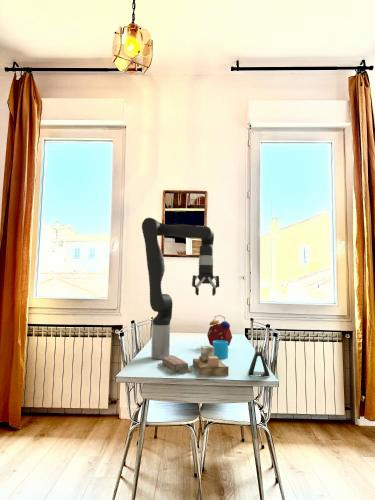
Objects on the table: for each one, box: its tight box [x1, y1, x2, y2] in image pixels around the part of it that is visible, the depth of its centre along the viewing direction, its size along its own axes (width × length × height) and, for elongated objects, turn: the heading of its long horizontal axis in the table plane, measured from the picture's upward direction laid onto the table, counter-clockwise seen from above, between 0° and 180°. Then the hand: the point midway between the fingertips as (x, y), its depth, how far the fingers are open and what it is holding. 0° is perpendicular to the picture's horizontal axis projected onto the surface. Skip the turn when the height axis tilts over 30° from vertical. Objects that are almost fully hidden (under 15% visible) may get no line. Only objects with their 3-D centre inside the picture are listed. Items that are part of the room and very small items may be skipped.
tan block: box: [198, 345, 214, 363], centre depth 159 cm, size 6×8×6 cm
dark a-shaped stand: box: [248, 345, 271, 378], centre depth 149 cm, size 9×6×12 cm, turn 80°
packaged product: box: [157, 354, 193, 375], centre depth 156 cm, size 18×5×10 cm
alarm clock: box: [206, 314, 233, 347], centre depth 203 cm, size 15×9×20 cm, turn 46°
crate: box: [208, 356, 220, 367], centre depth 149 cm, size 4×4×4 cm
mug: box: [212, 340, 229, 360], centre depth 183 cm, size 12×8×8 cm
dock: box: [192, 358, 229, 377], centre depth 154 cm, size 12×19×4 cm, turn 10°
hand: (205, 295), depth 175 cm, fingers open, 8 cm apart
